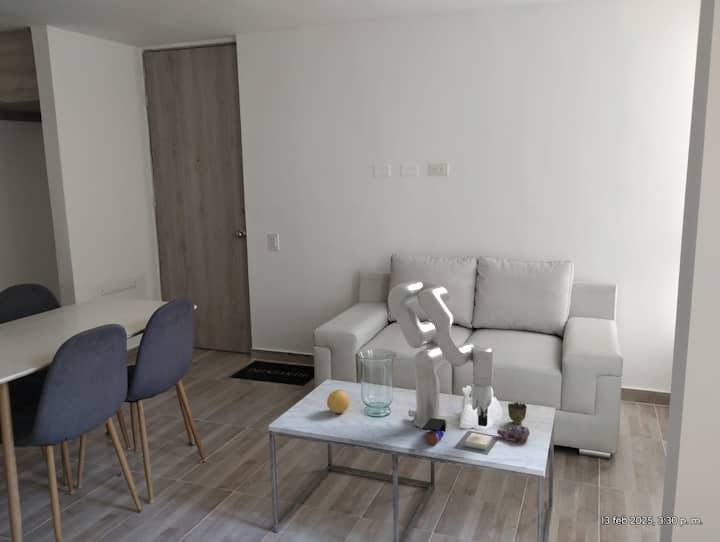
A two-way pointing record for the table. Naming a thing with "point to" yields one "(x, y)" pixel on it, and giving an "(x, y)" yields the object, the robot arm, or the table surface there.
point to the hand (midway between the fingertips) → (482, 425)
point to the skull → (515, 434)
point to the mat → (462, 446)
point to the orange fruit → (338, 401)
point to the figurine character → (434, 430)
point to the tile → (478, 441)
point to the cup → (517, 412)
